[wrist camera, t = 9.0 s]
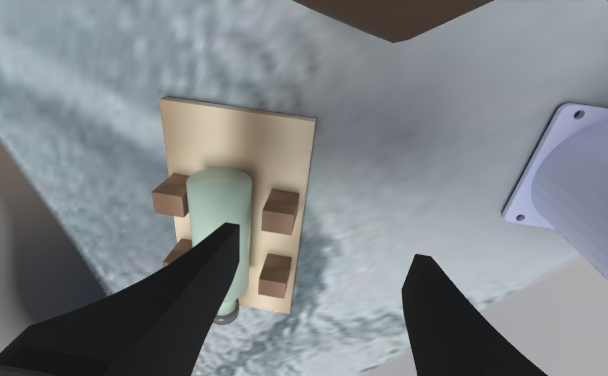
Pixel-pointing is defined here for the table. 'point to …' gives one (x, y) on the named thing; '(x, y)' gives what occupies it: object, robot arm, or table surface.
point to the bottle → (216, 211)
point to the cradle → (265, 184)
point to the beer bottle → (393, 14)
